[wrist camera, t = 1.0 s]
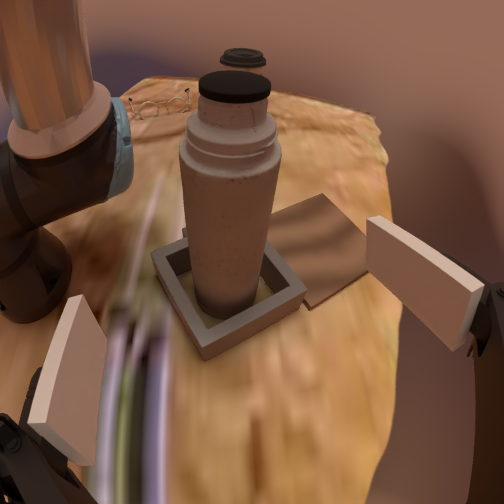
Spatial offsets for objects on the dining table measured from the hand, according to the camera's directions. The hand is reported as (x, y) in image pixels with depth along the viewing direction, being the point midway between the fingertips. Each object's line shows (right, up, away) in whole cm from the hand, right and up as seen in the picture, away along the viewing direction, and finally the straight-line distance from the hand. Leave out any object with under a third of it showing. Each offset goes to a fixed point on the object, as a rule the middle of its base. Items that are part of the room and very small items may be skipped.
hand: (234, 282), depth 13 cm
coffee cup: (-2, +40, +61) cm, 73 cm away
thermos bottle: (-3, -4, +28) cm, 28 cm away
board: (+11, +2, +33) cm, 35 cm away
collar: (-3, -3, +28) cm, 28 cm away
